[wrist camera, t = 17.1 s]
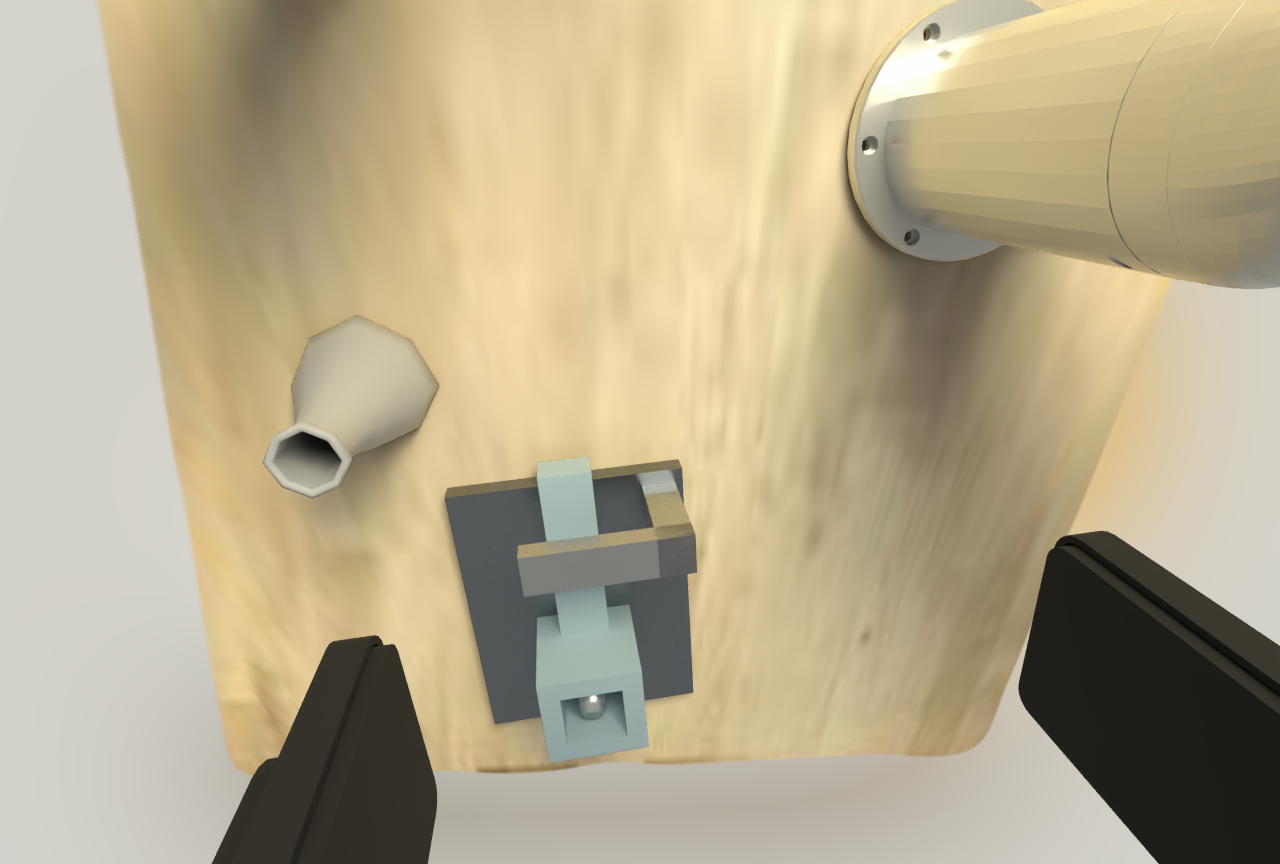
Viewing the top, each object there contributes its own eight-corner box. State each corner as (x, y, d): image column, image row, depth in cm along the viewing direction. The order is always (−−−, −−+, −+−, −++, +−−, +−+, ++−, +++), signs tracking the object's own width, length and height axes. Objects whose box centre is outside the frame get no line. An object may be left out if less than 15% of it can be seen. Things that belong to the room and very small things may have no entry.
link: (636, 674, 45) (648, 746, 39) (549, 687, 44) (549, 763, 39) (614, 453, 38) (626, 504, 32) (511, 466, 37) (505, 520, 32)
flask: (356, 289, 33) (285, 340, 24) (463, 382, 36) (436, 460, 27) (267, 382, 35) (169, 464, 26) (378, 466, 37) (324, 567, 28)
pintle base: (678, 459, 40) (704, 519, 33) (689, 679, 47) (713, 765, 41) (447, 488, 38) (427, 557, 32) (496, 710, 46) (487, 803, 39)
